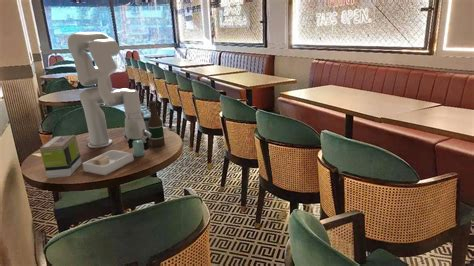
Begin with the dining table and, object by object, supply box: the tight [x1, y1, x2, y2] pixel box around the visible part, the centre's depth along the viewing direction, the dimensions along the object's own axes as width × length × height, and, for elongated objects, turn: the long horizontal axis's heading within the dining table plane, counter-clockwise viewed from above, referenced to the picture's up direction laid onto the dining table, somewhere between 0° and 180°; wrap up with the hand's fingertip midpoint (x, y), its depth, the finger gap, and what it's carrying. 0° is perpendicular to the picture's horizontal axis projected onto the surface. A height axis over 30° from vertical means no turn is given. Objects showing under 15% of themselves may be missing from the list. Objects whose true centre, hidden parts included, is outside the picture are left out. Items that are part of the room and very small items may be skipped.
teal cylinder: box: [132, 139, 146, 158], centre depth 165 cm, size 5×5×7 cm
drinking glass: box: [143, 116, 150, 142], centre depth 188 cm, size 10×10×12 cm
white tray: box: [81, 149, 135, 176], centre depth 153 cm, size 14×18×4 cm
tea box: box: [39, 134, 83, 179], centre depth 149 cm, size 15×10×15 cm, turn 5°
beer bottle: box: [148, 100, 165, 148], centre depth 175 cm, size 8×8×24 cm
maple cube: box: [91, 155, 110, 166], centre depth 149 cm, size 5×5×5 cm
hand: (139, 148), depth 165 cm, fingers open, 9 cm apart
